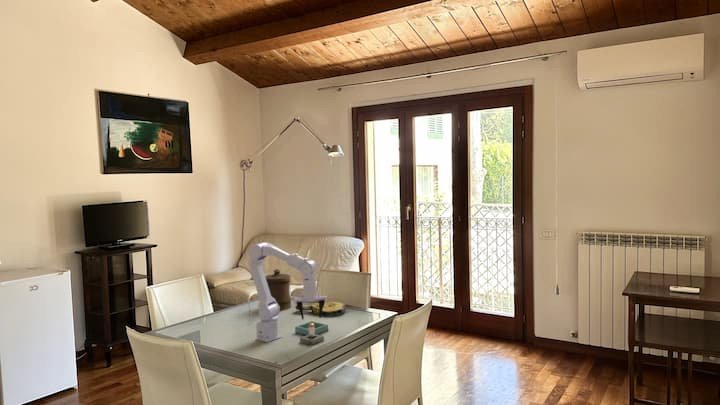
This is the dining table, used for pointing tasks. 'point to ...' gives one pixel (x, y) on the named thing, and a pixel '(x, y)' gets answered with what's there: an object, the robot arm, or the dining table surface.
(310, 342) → the pin bracket
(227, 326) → the dining table surface
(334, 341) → the dining table surface
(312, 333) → the pin
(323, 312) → the pulley block
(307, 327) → the tray
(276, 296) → the wooden container
